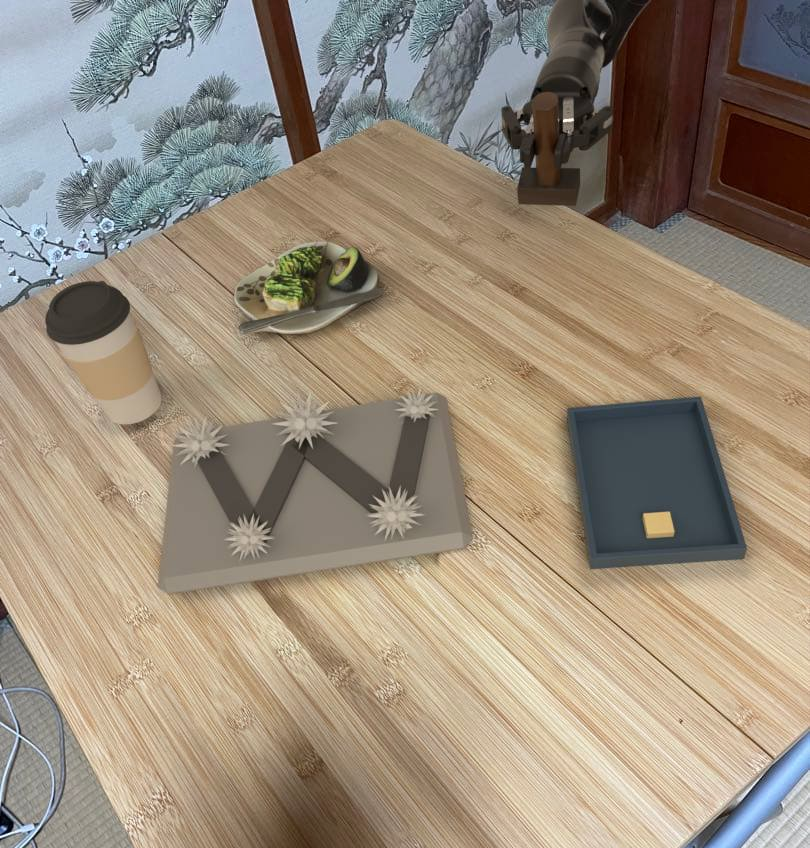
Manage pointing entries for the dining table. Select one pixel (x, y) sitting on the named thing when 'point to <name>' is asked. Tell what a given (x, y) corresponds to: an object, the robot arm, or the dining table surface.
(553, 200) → the wooden peg on stand
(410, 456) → the constellation board
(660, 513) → the crumb
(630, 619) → the dining table surface
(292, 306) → the avocado toast plate
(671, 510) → the tray
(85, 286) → the coffee cup
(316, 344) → the dining table surface
